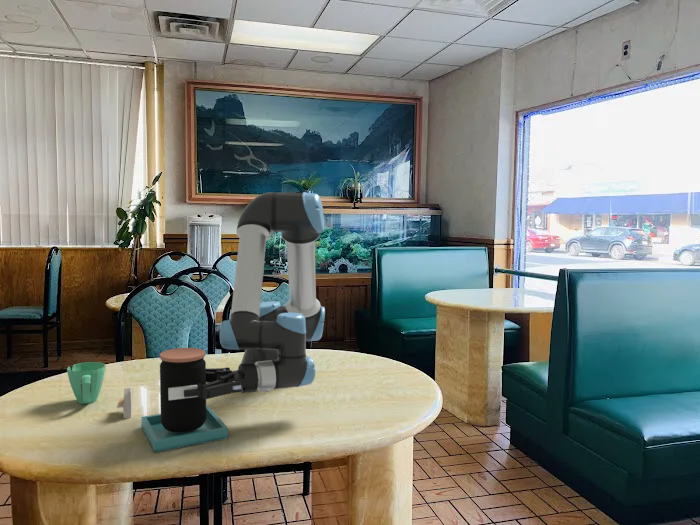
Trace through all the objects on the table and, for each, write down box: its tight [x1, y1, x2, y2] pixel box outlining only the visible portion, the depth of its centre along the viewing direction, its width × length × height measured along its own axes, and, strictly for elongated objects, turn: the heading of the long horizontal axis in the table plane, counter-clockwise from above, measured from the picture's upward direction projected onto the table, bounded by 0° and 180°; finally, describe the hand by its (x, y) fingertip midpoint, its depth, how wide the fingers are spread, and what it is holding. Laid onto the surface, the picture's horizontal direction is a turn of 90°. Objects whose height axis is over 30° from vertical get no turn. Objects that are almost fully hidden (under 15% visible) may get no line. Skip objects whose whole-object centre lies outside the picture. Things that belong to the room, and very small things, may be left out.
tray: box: [140, 405, 229, 453], centre depth 138 cm, size 17×17×3 cm
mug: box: [66, 361, 106, 405], centre depth 157 cm, size 15×10×10 cm
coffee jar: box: [159, 347, 207, 432], centre depth 137 cm, size 11×11×18 cm
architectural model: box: [116, 385, 134, 419], centre depth 150 cm, size 3×7×7 cm, turn 16°
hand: (165, 387), depth 135 cm, fingers closed on coffee jar, 11 cm apart
